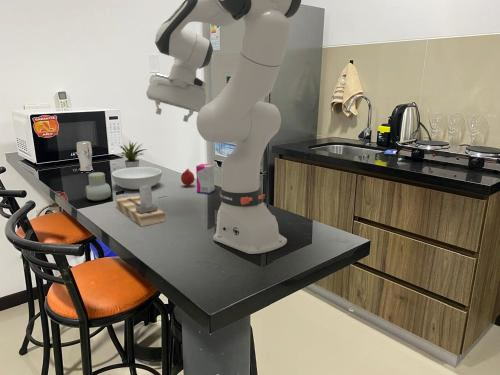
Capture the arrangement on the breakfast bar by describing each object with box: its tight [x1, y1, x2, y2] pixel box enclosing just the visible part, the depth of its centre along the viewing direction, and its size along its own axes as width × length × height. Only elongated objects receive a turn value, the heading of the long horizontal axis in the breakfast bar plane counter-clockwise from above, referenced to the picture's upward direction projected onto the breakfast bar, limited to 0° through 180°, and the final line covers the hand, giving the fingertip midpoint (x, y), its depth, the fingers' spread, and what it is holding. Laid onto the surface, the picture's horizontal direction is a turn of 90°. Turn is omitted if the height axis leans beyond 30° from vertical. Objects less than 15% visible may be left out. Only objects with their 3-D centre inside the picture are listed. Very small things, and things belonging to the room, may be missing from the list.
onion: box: [180, 168, 195, 187], centre depth 166 cm, size 6×6×8 cm
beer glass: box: [76, 140, 94, 171], centre depth 193 cm, size 7×7×15 cm
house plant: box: [119, 141, 148, 168], centre depth 189 cm, size 14×14×16 cm
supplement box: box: [195, 163, 216, 195], centre depth 158 cm, size 6×6×12 cm
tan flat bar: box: [115, 195, 166, 227], centre depth 131 cm, size 24×8×3 cm, turn 37°
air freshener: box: [85, 171, 112, 202], centre depth 148 cm, size 11×8×10 cm
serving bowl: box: [111, 166, 163, 191], centre depth 165 cm, size 21×21×7 cm
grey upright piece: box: [136, 185, 159, 213], centre depth 124 cm, size 4×6×8 cm, turn 127°
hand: (171, 117), depth 130 cm, fingers open, 8 cm apart
